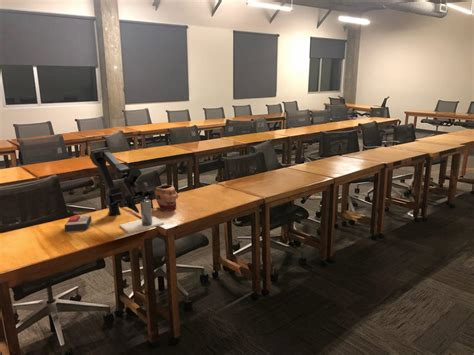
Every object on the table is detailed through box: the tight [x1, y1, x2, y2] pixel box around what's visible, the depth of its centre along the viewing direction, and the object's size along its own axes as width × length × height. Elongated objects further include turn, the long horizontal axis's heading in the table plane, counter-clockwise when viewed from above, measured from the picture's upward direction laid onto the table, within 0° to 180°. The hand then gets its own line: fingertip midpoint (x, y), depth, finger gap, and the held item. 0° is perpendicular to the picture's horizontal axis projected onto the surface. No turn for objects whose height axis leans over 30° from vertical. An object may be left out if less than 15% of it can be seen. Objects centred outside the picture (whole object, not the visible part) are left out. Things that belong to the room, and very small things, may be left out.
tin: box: [139, 199, 153, 226], centre depth 203 cm, size 6×6×13 cm
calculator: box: [64, 214, 93, 233], centre depth 206 cm, size 11×4×15 cm
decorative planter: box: [154, 184, 179, 211], centre depth 231 cm, size 20×12×14 cm, turn 51°
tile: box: [119, 215, 165, 234], centre depth 205 cm, size 20×12×1 cm, turn 128°
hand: (145, 210), depth 203 cm, fingers open, 9 cm apart
